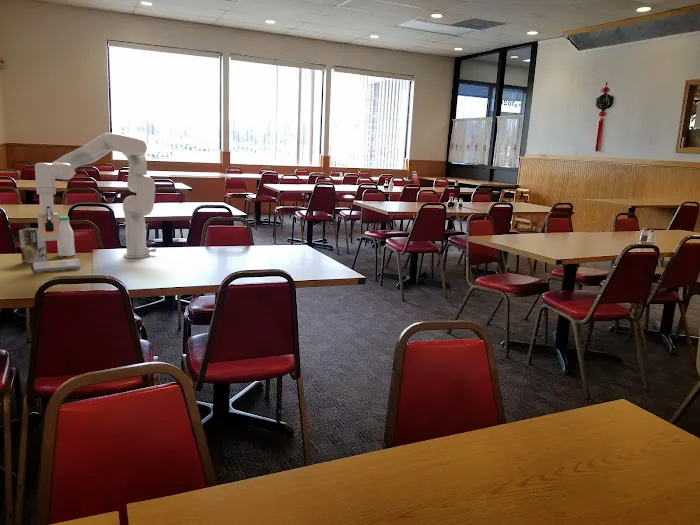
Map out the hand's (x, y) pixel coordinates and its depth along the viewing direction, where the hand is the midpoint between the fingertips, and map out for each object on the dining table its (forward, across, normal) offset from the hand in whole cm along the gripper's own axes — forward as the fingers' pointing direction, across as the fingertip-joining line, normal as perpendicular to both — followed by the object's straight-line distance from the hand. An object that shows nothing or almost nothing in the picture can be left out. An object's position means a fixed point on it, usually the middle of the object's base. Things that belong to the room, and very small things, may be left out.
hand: (49, 230), depth 248 cm
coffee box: (+18, -17, -6) cm, 25 cm away
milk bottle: (+18, -28, +9) cm, 34 cm away
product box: (+4, 0, 0) cm, 4 cm away
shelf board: (+18, 0, +2) cm, 18 cm away
